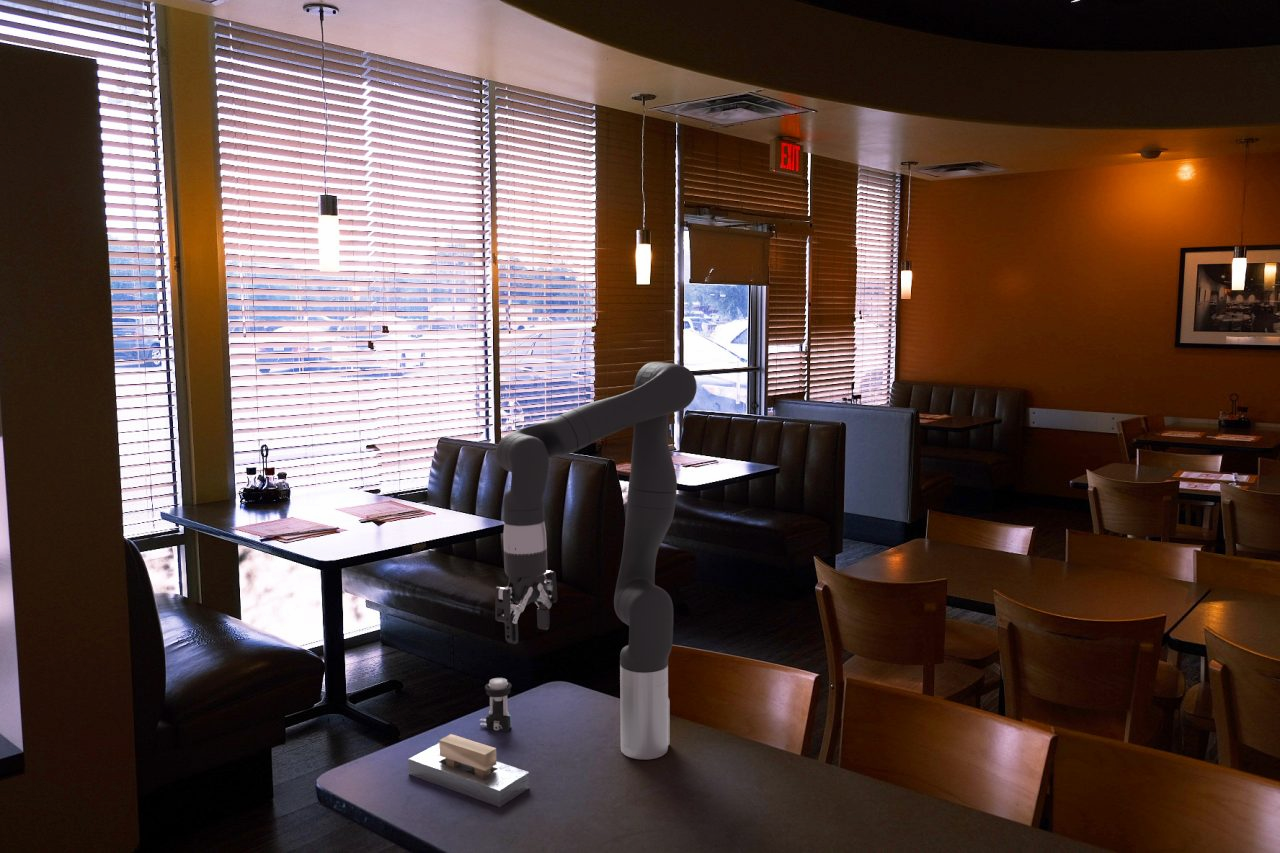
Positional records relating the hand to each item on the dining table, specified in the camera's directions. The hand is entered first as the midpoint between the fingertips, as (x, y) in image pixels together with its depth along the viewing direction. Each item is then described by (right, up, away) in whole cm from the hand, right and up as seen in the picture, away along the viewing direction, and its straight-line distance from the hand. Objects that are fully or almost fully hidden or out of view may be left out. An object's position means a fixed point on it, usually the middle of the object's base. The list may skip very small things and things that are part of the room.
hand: (528, 635), depth 172 cm
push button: (-10, -25, +26) cm, 37 cm away
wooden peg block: (-11, -27, +4) cm, 30 cm away
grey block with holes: (-11, -27, +4) cm, 30 cm away
